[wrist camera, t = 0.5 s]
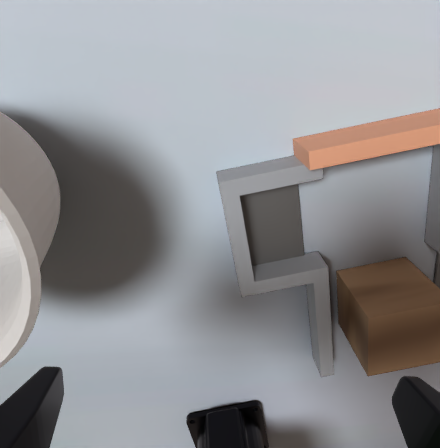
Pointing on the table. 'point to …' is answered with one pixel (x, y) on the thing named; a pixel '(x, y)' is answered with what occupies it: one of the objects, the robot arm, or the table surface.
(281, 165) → the trap lane
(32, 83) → the table surface
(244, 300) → the table surface
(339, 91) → the table surface
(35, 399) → the robot arm
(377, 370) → the walnut block
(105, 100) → the table surface
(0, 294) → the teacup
